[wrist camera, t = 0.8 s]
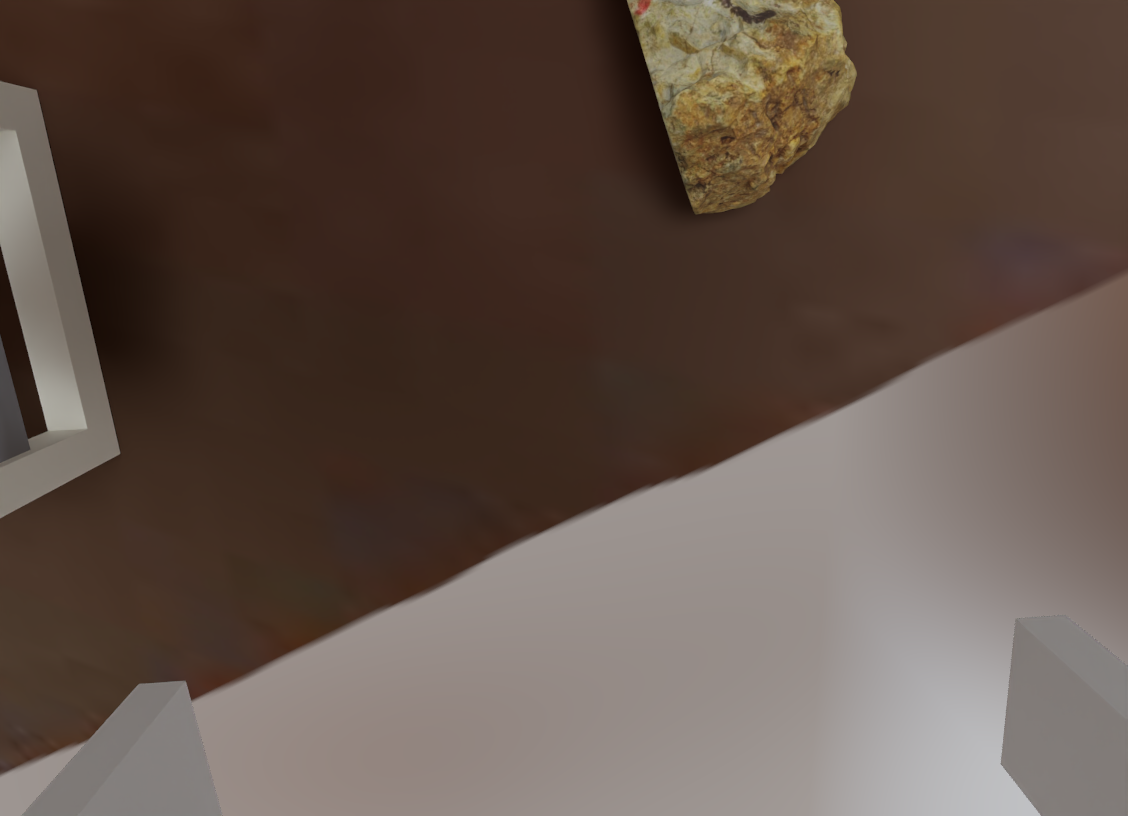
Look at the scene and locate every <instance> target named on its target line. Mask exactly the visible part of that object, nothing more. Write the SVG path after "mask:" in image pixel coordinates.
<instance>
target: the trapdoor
mask: <svg viewBox="0 0 1128 816" xmlns="http://www.w3.org/2000/svg"><path fill="white" fill-rule="evenodd" d="M29 450H31V449H30V446H29V442H28V438H27V434H26V431H25V427H24V423H23V419H22V415H21V412H20V408H19V404H18V400H17V397H16V393H15V389H14V385H13V382H12V378H11V374H10V370H9V366H8V363H7V359H6V355H5V351H4V348H3V344H2V340H1V336H0V463H1V462H3V461H6V460H8V459H10V458H13V457H15V456H17V455H20V454H22V453H24V452H26V451H29Z"/></svg>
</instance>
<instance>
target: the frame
mask: <svg viewBox="0 0 1128 816" xmlns="http://www.w3.org/2000/svg"><path fill="white" fill-rule="evenodd" d="M0 246H1V250H2V253H3V257H4V261H5V265H6V269H7V273H8V277H9V281H10V285H11V289H12V292H13V296H14V300H15V304H16V308H17V312H18V316H19V320H20V324H21V327H22V331H23V335H24V339H25V343H26V347H27V351H28V355H29V359H30V363H31V366H32V370H33V374H34V378H35V382H36V386H37V390H38V394H39V398H40V402H41V405H42V409H43V413H44V417H45V421H46V425H47V429H48V431H47V432H44V433H42V434H40V435H37V436H35V437H32V438H30V439H28V442H29V446H30V449H31V450H29V451H26V452H24V453H22V454H20V455H17V456H15V457H13V458H10V459H8V460H6V461H3V462H1V463H0V518H2V517H3V516H5V515H7V514H9V513H11V512H13V511H15V510H16V509H18V508H20V507H22V506H24V505H26V504H28V503H30V502H31V501H33V500H35V499H37V498H39V497H41V496H43V495H44V494H46V493H48V492H50V491H52V490H54V489H56V488H58V487H59V486H61V485H63V484H65V483H67V482H69V481H71V480H72V479H74V478H76V477H78V476H80V475H82V474H84V473H86V472H87V471H89V470H91V469H93V468H95V467H97V466H99V465H101V464H102V463H104V462H106V461H108V460H110V459H112V458H114V457H115V456H117V455H119V454H120V449H119V445H118V441H117V436H116V432H115V428H114V423H113V419H112V415H111V410H110V406H109V402H108V397H107V393H106V389H105V384H104V380H103V376H102V371H101V367H100V363H99V358H98V354H97V350H96V345H95V341H94V336H93V332H92V328H91V323H90V319H89V315H88V310H87V306H86V302H85V297H84V293H83V289H82V284H81V280H80V276H79V271H78V267H77V263H76V258H75V254H74V250H73V245H72V241H71V237H70V232H69V228H68V224H67V219H66V215H65V211H64V206H63V202H62V198H61V193H60V189H59V185H58V180H57V176H56V172H55V167H54V163H53V159H52V154H51V150H50V146H49V141H48V137H47V133H46V128H45V124H44V119H43V115H42V111H41V106H40V102H39V98H38V93H37V90H34V89H30V88H26V87H22V86H18V85H14V84H10V83H5V82H1V81H0Z"/></svg>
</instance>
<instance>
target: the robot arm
mask: <svg viewBox="0 0 1128 816" xmlns="http://www.w3.org/2000/svg"><path fill="white" fill-rule="evenodd" d="M1002 748H1003V749H1002V757H1001V765H1002V766H1003V767H1004V769H1005V770H1006V771H1007V773H1008V774H1009V775H1010V776H1011V777H1012V779H1013V780H1014V781H1015V783H1016V784H1017V785H1018V787H1019V788H1020V789H1021V790H1022V792H1023V793H1024V794H1025V795H1026V797H1027V798H1028V799H1029V800H1030V802H1031V803H1032V804H1033V806H1034V807H1035V808H1036V809H1037V811H1038V812H1039V813H1040V815H1041V816H1128V665H1126V664H1125V663H1124V662H1122V661H1121V660H1120V659H1119V658H1118V657H1117V656H1115V655H1114V654H1113V653H1112V652H1110V651H1109V650H1108V649H1107V648H1105V647H1104V646H1103V645H1102V644H1101V643H1099V642H1098V641H1097V640H1096V639H1094V638H1093V637H1092V636H1091V635H1090V634H1088V633H1087V632H1086V631H1085V630H1083V629H1082V628H1081V627H1080V626H1079V625H1077V624H1076V623H1075V622H1074V621H1072V620H1071V619H1070V618H1069V617H1067V616H1066V615H1057V616H1044V617H1031V618H1017V619H1016V620H1015V629H1014V639H1013V649H1012V659H1011V669H1010V678H1009V688H1008V698H1007V708H1006V718H1005V728H1004V737H1003V747H1002ZM22 816H222V812H221V808H220V805H219V801H218V797H217V794H216V790H215V787H214V783H213V779H212V775H211V772H210V768H209V764H208V761H207V757H206V753H205V750H204V746H203V742H202V739H201V735H200V732H199V728H198V725H197V721H196V717H195V713H194V710H193V706H192V702H191V699H190V695H189V691H188V688H187V684H186V681H175V682H162V683H148V684H138V685H137V687H136V688H135V689H134V690H133V691H132V692H131V693H130V694H129V696H128V697H127V698H126V699H125V700H124V701H123V702H122V703H121V705H120V706H119V707H118V708H117V709H116V710H115V711H114V712H113V714H112V715H111V716H110V717H109V718H108V719H107V720H106V721H105V722H104V724H103V725H102V726H101V727H100V728H99V729H98V730H97V731H96V733H95V734H94V735H93V736H92V737H91V738H90V739H89V740H88V742H87V743H86V744H85V745H84V746H83V747H82V748H81V749H80V751H79V752H78V753H77V754H76V755H75V756H74V757H73V759H71V761H70V762H69V763H68V764H67V765H66V766H65V768H63V770H62V771H61V772H60V773H59V774H58V775H57V776H56V777H55V779H54V780H53V781H52V782H51V783H50V784H49V785H48V786H47V788H46V789H45V790H44V791H43V792H42V793H41V794H40V795H39V796H38V798H37V799H36V800H35V801H34V802H33V803H32V804H31V805H30V807H29V808H28V809H27V810H26V811H25V812H24V813H23V814H22Z"/></svg>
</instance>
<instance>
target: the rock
mask: <svg viewBox="0 0 1128 816" xmlns="http://www.w3.org/2000/svg"><path fill="white" fill-rule="evenodd" d="M627 2H628V5H629V9H630V12H631V15H632V18H633V21H634V25H635V28H636V31H637V34H638V37H639V41H640V44H641V47H642V50H643V54H644V57H645V61H646V64H647V67H648V70H649V73H650V77H651V80H652V84H653V87H654V90H655V94H656V97H657V100H658V103H659V107H660V111H661V114H662V117H663V121H664V123H665V126H666V129H667V133H668V136H669V140H670V143H671V146H672V149H673V152H674V155H675V158H676V161H677V164H678V167H679V170H680V174H681V177H682V180H683V183H684V186H685V189H686V192H687V194H688V197H689V200H690V203H691V206H692V209H693V211H694V213H695V214H701V213H716V212H723V211H727V210H730V209H735V208H741V207H743V206H746V205H749V204H751V203H754V202H755V201H756V199H758V198H760V197H762V196H763V195H765V194H766V193H767V192H769V191H770V187H769V186H771V185H772V184H773V182H774V181H775V179H776V173H777V174H782V173H783V172H784V171H785V169H786V168H788V167H789V166H790V165H792V164H793V163H794V162H795V161H796V160H798V159H799V158H800V157H801V156H803V155H805V154H806V152H807V151H808V150H809V149H810V148H811V147H812V146H814V145H815V143H816V141H817V139H818V138H819V136H820V135H821V133H822V132H823V130H824V128H825V126H826V125H827V123H828V122H829V121H831V120H832V119H833V118H834V117H835V116H836V114H837V113H838V112H840V111H841V110H842V109H843V108H845V107H846V106H848V102H849V99H850V93H851V90H852V88H853V85H854V82H855V79H856V75H857V73H856V70H855V67H854V65H853V63H852V61H851V60H850V59H849V58H848V57H847V55H846V54H845V50H846V46H847V42H846V40H845V38H844V36H843V29H842V22H841V18H842V16H841V11H840V7H839V6H838V5H837V4H836V2H835V1H834V0H627Z"/></svg>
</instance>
